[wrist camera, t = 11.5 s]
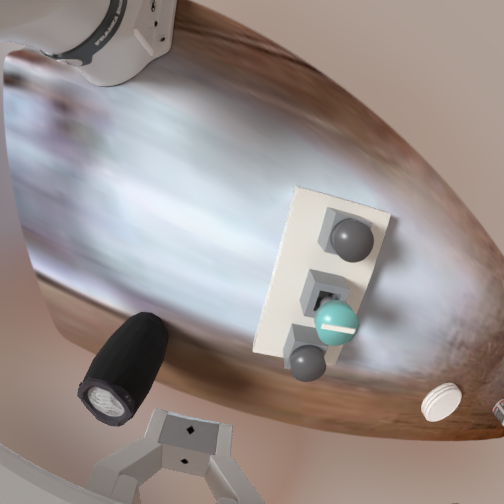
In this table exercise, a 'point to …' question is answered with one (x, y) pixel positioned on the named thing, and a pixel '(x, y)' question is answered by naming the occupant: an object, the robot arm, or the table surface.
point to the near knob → (352, 240)
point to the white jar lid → (441, 402)
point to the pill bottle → (499, 411)
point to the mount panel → (313, 273)
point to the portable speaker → (124, 369)
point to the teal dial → (335, 322)
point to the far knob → (307, 363)
